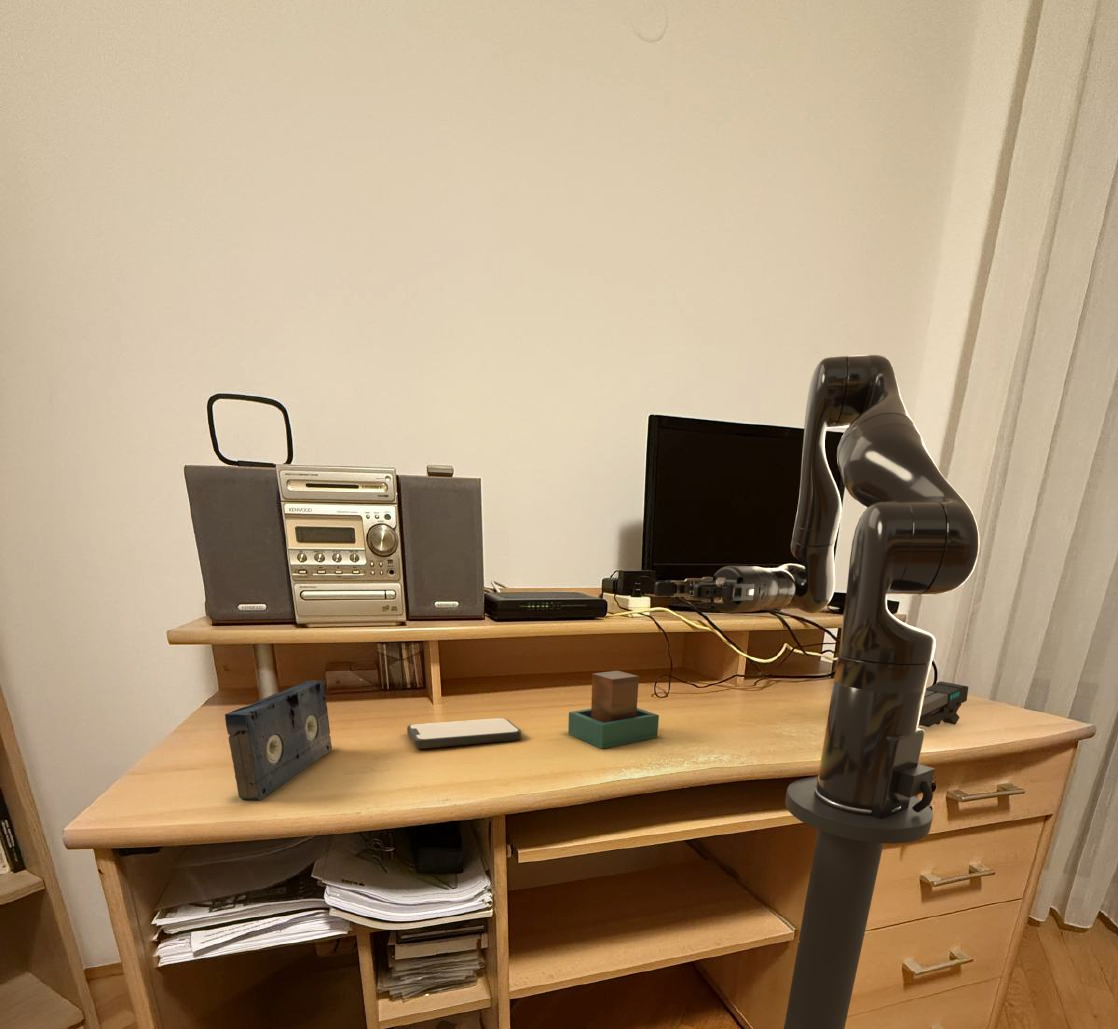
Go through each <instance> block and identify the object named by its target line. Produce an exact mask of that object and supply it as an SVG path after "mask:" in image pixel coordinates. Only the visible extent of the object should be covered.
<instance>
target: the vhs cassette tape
mask: <svg viewBox="0 0 1118 1029" xmlns="http://www.w3.org/2000/svg"><path fill="white" fill-rule="evenodd" d="M325 687H326V686H325V683H324V680H306V681H304V682H302V683H298V684H296V685H294V686H291V687H288V688H287V689H284V690H282V691H279V692H276V693H273V694H271V695H269V696H267V697H265V698H262V699H259V700H257V701H255V702H253V703H251V704H250V705H246V706H243V707H240V708H239V707H238V708H237V709H235V710H232V711H229V712H227V713H224V716H225V717H224V720H225V726H226V732H227V734H228V735H229V736H228V743H229V750H230V754H231V760H232V764H233V765H232V766H233V771H234V779H235V782H236V788H237V789H236V790H237V794H238V797H239V798H240V799H242V800H253V801H256V800H258V801H261V800H264V798H266V797H267V796H268V795H269V794H271V793H273V792H274V791H275V790H277V789H278V788H280V787H281V786H283V785H285V784H286V783H288V781H290V780H292V778H294V777H295V776H297V775H298V774H300V773H301V772H302V771H304V770H306V769H307V768H309V767H310V766H311V765H312V764H314V763H316V762H317V761H318V760H320V759H321V758H322V757H324V756H326V755H327V754H328V753H329V752H331V751H332V750H333V745H332V737H331V736H330V734H331V728H330V721H329V720H330V719H329V713H328V712H329V711H328V705H327V692H326V688H325Z"/></svg>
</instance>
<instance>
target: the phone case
mask: <svg viewBox="0 0 1118 1029" xmlns="http://www.w3.org/2000/svg"><path fill="white" fill-rule="evenodd" d="M406 732H407V736H408V737H409V739H410V741H411V742H412V744H413V745H414V747H415V748H417V749H432V748H433V749H434V748H444V747H445V748H446V747H456V746H467V745H477V744H478V745H479V744H489V743H500V742H502V743H503V742H513V741H519V740H521V739H522V730H521V729H520V728H519V727H517V726H516V725H515V724H514V723H513V722H512V721H510V720H509V719H507V718H503V717H496V718H482V719H468V720H453V721H442V722H426V723H413V724H408V725H407V727H406Z"/></svg>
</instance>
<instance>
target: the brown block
mask: <svg viewBox="0 0 1118 1029" xmlns="http://www.w3.org/2000/svg"><path fill="white" fill-rule="evenodd" d="M591 677H592V678H591V703H590V704H591V706H590V707H591V708H590V709H591V718H593V719H595V720H598V721H600V722H603V723H606V722H611V721H617V720H622V719H628V718H634V717H636V715H637V708H638V699H639V698H638V695H639V681H640V680H639V679H640V677H639V675H636V674H632V673H628V672H624V671H621V670H611V671H604V672H603V671H602V672H596V673H595V672H594V673H592V676H591Z"/></svg>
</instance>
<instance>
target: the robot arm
mask: <svg viewBox="0 0 1118 1029" xmlns="http://www.w3.org/2000/svg"><path fill="white" fill-rule="evenodd" d="M900 392H901V391H900V388H899V385H898V380H897V377H896V373H895V369H894V366H893V364H892V362H891V361H890V359H889V358H888V357H886V356H883V355H879V354H860V355H859V354H858V355H843V356H842V355H839V356H829V357H824V358H823V359H821V360H820V361H819V362H818V364H816V366H815V368H814V371H813V373H812V376H811V379H810V383H809V387H808V392H807V397H806V398H807V399H806V406H805V414H804V415H805V417H804V425H803V426H804V428H803V440H802V452H801V467H800V483H799V495H798V504H797V511H796V515H795V520H794V527H793V532H792V537H791V542H790V553H791V554H792V555H793V557H794V558H796V559H797V561H799V562H801V564H798V563H786V564H785V563H784V564H782V565H779V566H777V567H772V568H771V567H761V566H755V565H753V566H752V565H750V566H749V565H726V566H723V567H721V568H720V569H718V570H717V571H716V572H715V573H714V575H713V576H703V577H702V578H701V577H700V578H697V577H695V578H694V577H687V578H685V579H684V580H677V579H673V580H672V579H667V580H665V581H656V582H655V583H654V589H653V590H654V591H653V594H654V597H671V598H675V597H680V598H681V597H682V598H683V599H684V600H686V601H700V602H703V603H711V604H712V606H713V607H714V608H715V609H716V610H717V611H719V612H720V613H723V614H733V613H749V612H750V613H752V612H758V611H763V610H777V609H782V608H784V607H786V606H789V605H790V606H792V607H794V608H796V609H798V610H801V611H802V612H805V613H808V614H817V613H819V612H821V611H823V610H824V609H825V608H826V607H827V606H828V605H829V603H830V602H831V600H832V598H833V596H834V592H835V588H836V572H835V554H834V547H835V543H836V540H837V534H838V531H839V527H840V523H841V517H842V509H843V508H842V500H841V495H840V491H839V489H838V486H837V483H836V481H835V479H834V477H833V474H832V471H831V469H830V467H829V464H828V460H827V455H826V448H825V445H826V444H825V440H826V433H827V429H838V428H839V429H841V428H846V429H845V431H844V433H843V435H842V436H841V438H840V440H839V443H838V446H837V452H836V458H837V459H836V460H837V465H838V470H839V472H840V475H841V480H842V482H843V485H844V488H845V489H846V491H847V492H848V494H849V495H850V497H852V499H853V500H854V501H856V502H857V503H859V504H860V505H861V506H863V507H865V508H866V509H864V510H863V512H862V513H861V515H860V517H859V518H858V520H857V523H856V527H855V529H854V532H853V537H852V542H851V547H850V555H849V562H848V563H849V564H848V574H847V583H846V584H847V585H846V593H845V600H844V601H845V602H844V607H843V608H844V609H843V613H842V614H843V615H842V623H841V633H840V640H839V641H840V642H839V649H838V655H837V660H836V664H835V665H836V667H835V671H834V678H833V684H832V691H831V695H830V702H829V707H828V713H827V720H826V727H825V732H824V738H823V745H822V750H821V756H820V761H819V769H818V774H817V776H818V778H817V780H818V781H817V785H816V787H815V796H816V797H817V798H818V799H819V800H820V801H821V802H823V803H825V804H827V805H829V806H831V807H833V808H836V809H839V810H842V811H846V812H850V813H855V814H860V815H867V816H872V817H875V818H878V819H884V818H886V817H888V816H891V815H893V814H896V813H898V812H900V811H902V810H905V809H907V808H908V807H909V803H910V798H911V797H913V796H915V797H916V796H918V795H920V794H922V798H921V799H920V800H921V801H920V802H918V803H917V804H915V805H914V806H913V807H912V809H913V810H914V811H915V812H918V813H919V812H920V811H922V810H923V809H925V808H926V807H927V806H929V805H930V804H931V803H932V801H933V798H934V794H933V791H932V786H933V785H932V784H933V781H934V776H935V772H936V768H935V767H932V766H928V765H924V764H921V763H919V761H920V757H921V752H922V749H923V743H924V738H925V734H926V732H925V730H924V729H923V728H919V726H918V724H919V720H920V715H921V710H922V706H923V701H924V696H925V691H926V688H928V682H929V679H930V678H929V677H930V673H931V668H932V662H933V660H934V657H935V656H934V655H935V651H936V647H937V646H936V644H937V642H936V638H935V636H934V635H933V634H932V633H930V632H928V631H925V630H923V629H921V628H918V627H915V626H912V625H909V624H907V623H906V622H903V621H902V620H900V619H899V618H897V617H896V616H894V615H893V614H892V613H891V612H890V610H889V609H888V595H898V596H899V595H902V596H904V595H905V596H932V595H942V594H946V593H949V592H952V591H955V590H956V589H958V588H959V587H961V586H963V584H965V582H967V581H968V580H969V578H970V577H971V576H972V574H973V572H974V570H975V569H976V568H975V567H976V565H977V561H978V557H979V553H980V532H979V527H978V523H977V520H976V518H975V515H974V512H973V510H972V509H971V507H970V505H969V504H968V503H967V502H966V500H965V499H964V498H963V497H962V496H961V495H960V494H959V493H958V492H957V490H956V489H955V488H954V487H953V486H952V485H951V483H950V482H949V481H948V480H947V479H946V478H945V476H944V475H943V474H942V473H941V471H940V470H939V468H938V466H937V465H936V463H935V462H934V460H933V457H931V455H930V453H929V451H928V450H927V447H926V444H925V442H924V440H923V437H922V436H921V433H920V432H919V430H918V428H917V426H916V424H915V423H914V421H913V419H912V418H911V417H910V415H909V413H908V410H907V408H906V406H905V404H904V401H903V399H902V397H901V393H900Z"/></svg>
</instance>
